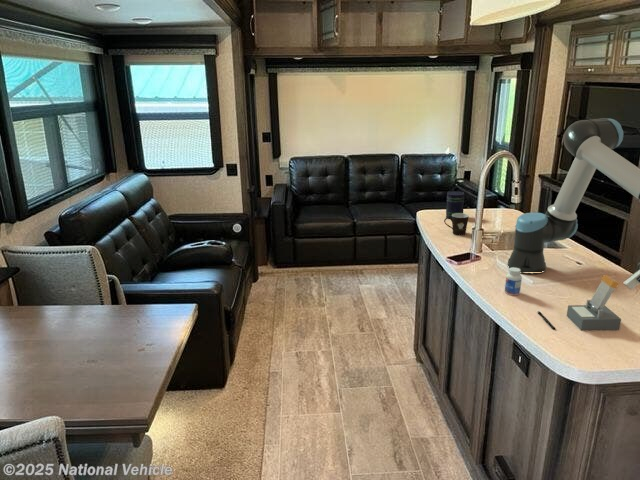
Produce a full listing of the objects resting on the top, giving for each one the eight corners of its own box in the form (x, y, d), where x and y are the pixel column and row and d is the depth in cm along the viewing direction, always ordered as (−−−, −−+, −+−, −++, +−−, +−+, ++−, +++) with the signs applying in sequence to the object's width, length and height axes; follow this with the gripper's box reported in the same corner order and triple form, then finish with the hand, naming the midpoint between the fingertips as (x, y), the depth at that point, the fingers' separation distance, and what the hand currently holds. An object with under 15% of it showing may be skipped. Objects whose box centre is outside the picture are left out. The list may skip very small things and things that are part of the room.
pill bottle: (501, 291, 180) (503, 268, 177) (512, 288, 182) (514, 265, 179) (512, 297, 175) (514, 273, 172) (523, 294, 177) (525, 270, 174)
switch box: (602, 315, 160) (605, 298, 158) (619, 330, 150) (622, 312, 148) (566, 315, 160) (569, 298, 158) (580, 330, 151) (583, 312, 149)
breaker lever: (591, 307, 157) (609, 276, 153) (600, 315, 151) (619, 283, 147) (586, 305, 156) (604, 274, 153) (594, 313, 151) (613, 281, 147)
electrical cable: (536, 313, 164) (536, 310, 163) (539, 312, 164) (539, 310, 163) (552, 330, 152) (552, 327, 152) (555, 330, 152) (555, 327, 152)
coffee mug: (469, 232, 250) (470, 214, 247) (464, 236, 243) (466, 218, 240) (448, 229, 256) (449, 211, 253) (442, 233, 249) (443, 215, 246)
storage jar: (446, 219, 274) (447, 194, 269) (444, 215, 283) (446, 191, 278) (464, 220, 272) (465, 195, 267) (461, 215, 281) (463, 191, 276)
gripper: (714, 251, 139) (646, 302, 145) (683, 237, 151) (622, 285, 157) (700, 234, 138) (632, 287, 144) (670, 221, 150) (608, 271, 156)
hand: (627, 286), depth 150 cm, fingers closed
